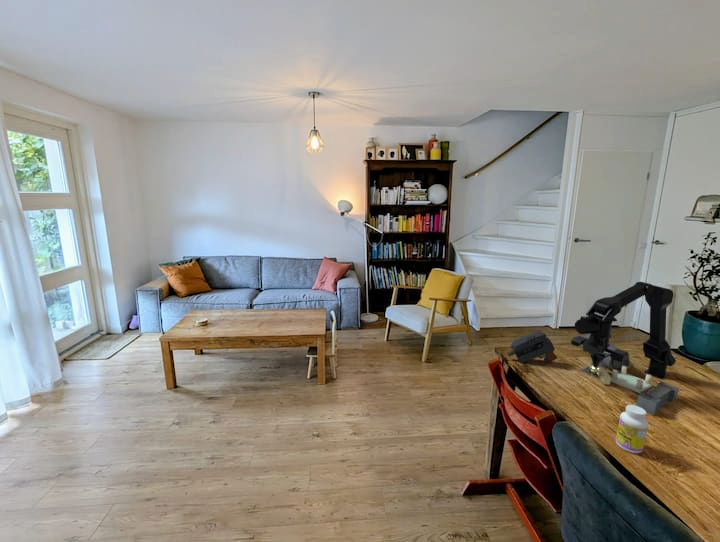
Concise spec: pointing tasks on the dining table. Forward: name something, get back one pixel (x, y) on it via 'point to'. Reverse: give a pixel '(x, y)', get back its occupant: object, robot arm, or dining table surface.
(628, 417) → the supplement bottle
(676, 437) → the dining table surface
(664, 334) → the robot arm
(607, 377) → the brass door handle
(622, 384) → the rack
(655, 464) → the dining table surface
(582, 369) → the flange
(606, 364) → the bluetooth speaker
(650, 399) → the grey bone-shaped bar
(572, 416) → the dining table surface
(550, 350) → the tool
